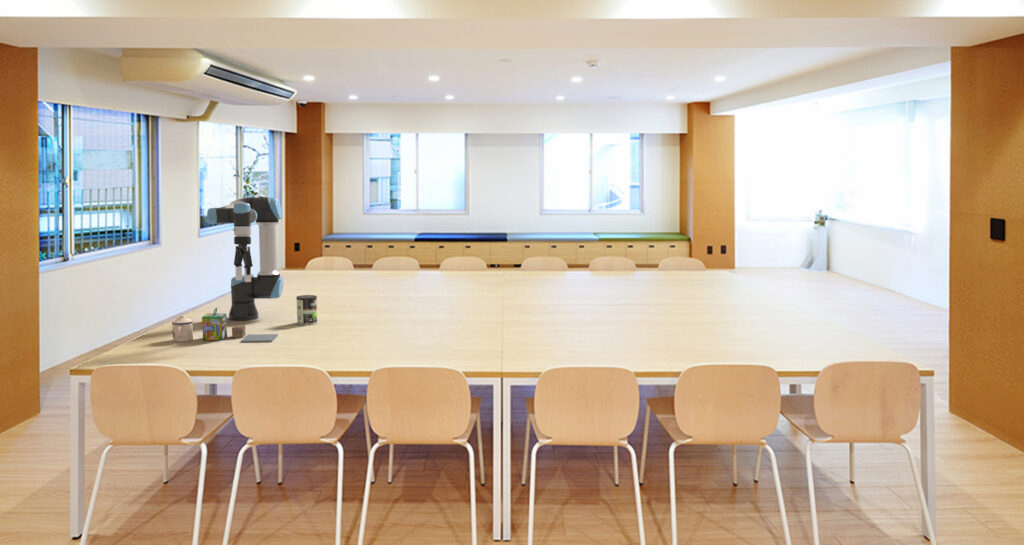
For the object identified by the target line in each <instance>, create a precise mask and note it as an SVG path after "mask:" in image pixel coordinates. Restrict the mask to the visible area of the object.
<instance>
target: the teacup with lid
mask: <svg viewBox="0 0 1024 545" xmlns="http://www.w3.org/2000/svg"><path fill="white" fill-rule="evenodd" d="M171 324H172V325H171V326H172V341H174V342H176V343H183V342H190V341H193V339H194V330H193V329H194V328H193V319H190V318H188V317H185V315H183V314H181V315H179V317H177V318H176V319H174V320H172V321H171Z"/></svg>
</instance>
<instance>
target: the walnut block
mask: <svg viewBox="0 0 1024 545" xmlns="http://www.w3.org/2000/svg"><path fill="white" fill-rule="evenodd" d="M246 332H247V331H246V325H234V326H232V327H231V338H232V337H243V338H245V337H246V336H247V335H246ZM245 335H246V336H245ZM244 336H245V337H244Z"/></svg>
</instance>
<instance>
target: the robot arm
mask: <svg viewBox="0 0 1024 545" xmlns="http://www.w3.org/2000/svg"><path fill="white" fill-rule="evenodd" d="M282 214H283V211H282V205H281V202H280V200H279V199H278V198H277V197H271V196H267V197H266V196H265V197H264V196H263V197H261V196H260V197H259V196H256V197H254V196H253V197H252V196H251V197H249V196H247V197H243V198H239V199H236V200H232V201H231V202H230V203H229V204H227V205H225V206H221V207H209V208H208V209H207V213H206V219H207V222H208V223H209V224H214V225H215V224H216V225H217V224H233V229H232V232H233V236H234V237H233V244H234V245H236V246H235V251H234V252H235V253H234V261H233V265H234V266H235V276H232V278H231V279H230V292H231V293H230V294H231V295H230V296H231V306H230V310H229V313H228V320H230V321H250V320H251V319H252V320H256V319H258V318H259V312H258V309H257V307H256V302H255V300H258V299H260V300H261V299H262V300H264V299H265V300H266V299H267V300H272V299H273V300H274V299H279V298H280V297H281V296H282V293H283V289H284V277H282V276H281V274H280V272H279V271H278V270H277V268H278V266H277V262H278V261H277V259H278V258H277V228H276V227H277V225H278V224H279V220H282V217H283V216H282ZM254 223H255V224H256V225H257V226H258V238H259V240H258V241H259V242H258V244H259V271H258V273H256V276H255V275H254V274H253V273H252V267H253V260H252V254H251V246H248V245H251V244H252V237H251V235H252V226H251V224H254ZM242 262H243V263H242ZM243 264H244V266H243ZM243 268H244V274H243Z"/></svg>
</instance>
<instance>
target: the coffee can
mask: <svg viewBox="0 0 1024 545" xmlns="http://www.w3.org/2000/svg"><path fill="white" fill-rule="evenodd" d="M295 298H296V317H297V318H296V321H297V323H298V325H300V324H302V326H303V325H304V326H309V325H308V324H312V325H315V323H316V324H318V305H317V304H318V303H317V302H318V300H317V299H318V296H317V295H313V294H305V295H304V294H303V295H302V294H301V295H298V296H296V297H295Z"/></svg>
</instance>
